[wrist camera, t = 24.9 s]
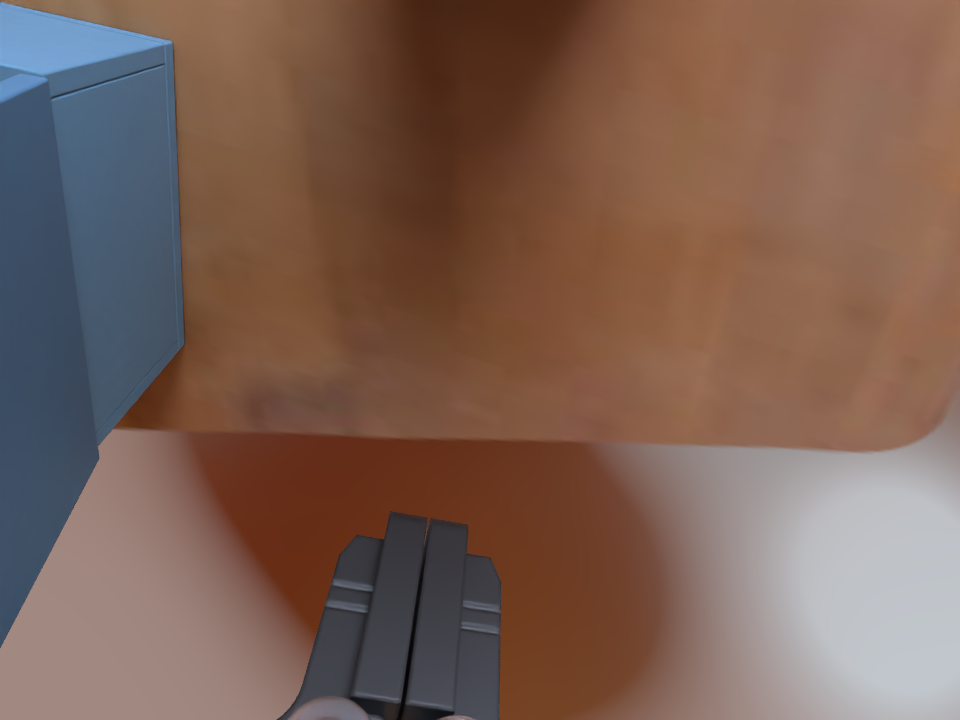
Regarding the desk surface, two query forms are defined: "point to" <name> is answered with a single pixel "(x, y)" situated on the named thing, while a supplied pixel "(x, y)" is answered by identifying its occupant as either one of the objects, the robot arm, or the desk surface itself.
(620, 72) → the desk surface
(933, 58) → the desk surface
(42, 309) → the lunchbox lid
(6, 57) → the box
